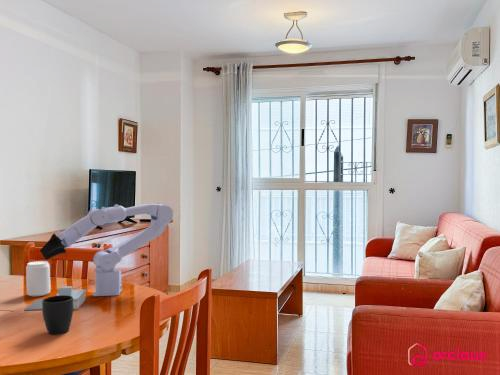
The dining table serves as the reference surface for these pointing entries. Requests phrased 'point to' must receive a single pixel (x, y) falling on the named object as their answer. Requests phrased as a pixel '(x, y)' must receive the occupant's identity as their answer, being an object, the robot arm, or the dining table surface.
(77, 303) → the tub
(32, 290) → the beverage can
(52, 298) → the mug
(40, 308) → the mat
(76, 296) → the lid
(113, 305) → the dining table surface
